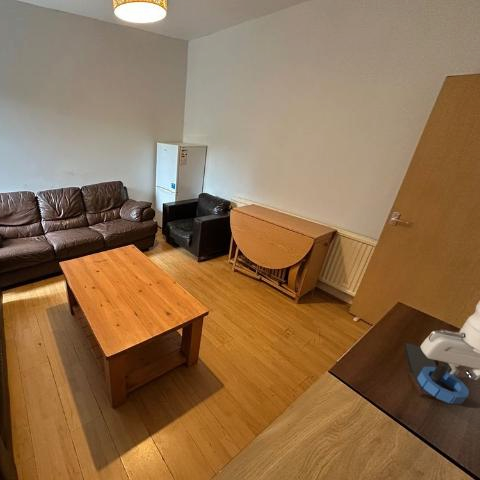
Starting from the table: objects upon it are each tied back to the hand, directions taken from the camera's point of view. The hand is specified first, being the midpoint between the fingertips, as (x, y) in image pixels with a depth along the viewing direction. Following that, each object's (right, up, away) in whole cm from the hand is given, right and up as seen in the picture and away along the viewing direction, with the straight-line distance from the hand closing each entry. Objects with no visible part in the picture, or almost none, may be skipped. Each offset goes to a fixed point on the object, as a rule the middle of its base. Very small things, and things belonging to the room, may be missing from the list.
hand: (460, 375), depth 69 cm
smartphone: (+3, -3, +13) cm, 14 cm away
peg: (-4, -7, +5) cm, 9 cm away
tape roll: (-2, -6, +4) cm, 7 cm away
